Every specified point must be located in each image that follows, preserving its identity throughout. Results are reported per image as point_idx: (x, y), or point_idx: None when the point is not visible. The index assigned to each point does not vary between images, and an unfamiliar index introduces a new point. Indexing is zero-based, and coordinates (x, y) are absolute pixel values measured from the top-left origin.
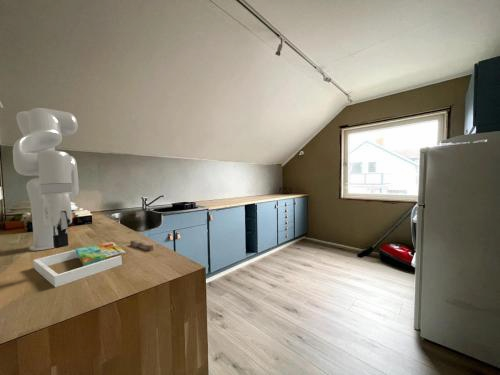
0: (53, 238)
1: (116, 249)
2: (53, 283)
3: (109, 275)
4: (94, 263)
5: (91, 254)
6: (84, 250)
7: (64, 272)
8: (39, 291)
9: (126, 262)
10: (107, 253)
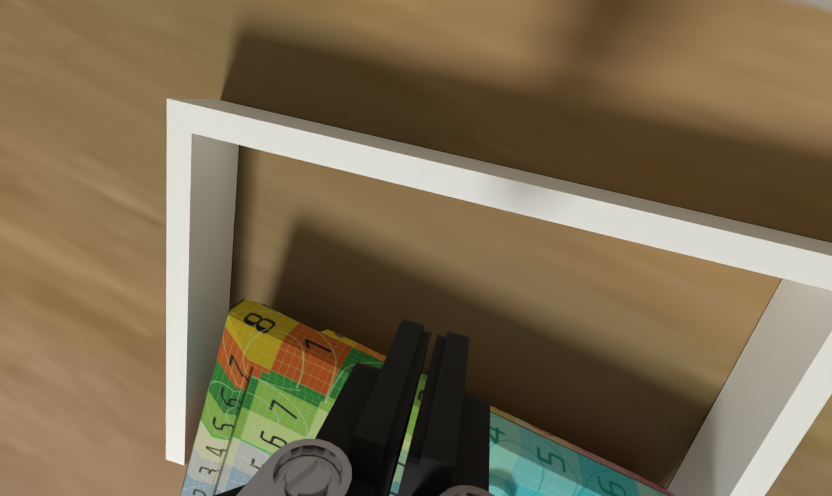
0: (435, 415)
1: None
2: (244, 108)
3: (116, 296)
4: (181, 331)
5: None
6: None
7: (186, 167)
8: (247, 29)
9: None
10: None
